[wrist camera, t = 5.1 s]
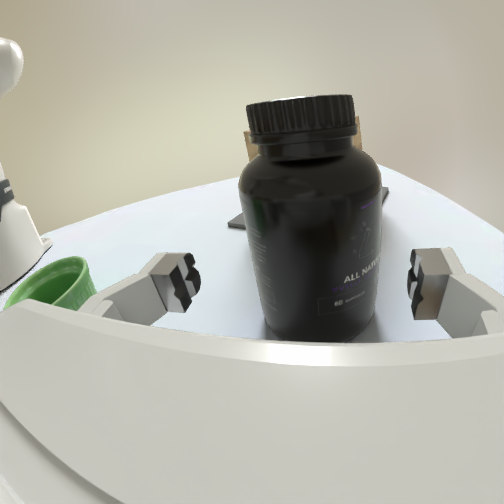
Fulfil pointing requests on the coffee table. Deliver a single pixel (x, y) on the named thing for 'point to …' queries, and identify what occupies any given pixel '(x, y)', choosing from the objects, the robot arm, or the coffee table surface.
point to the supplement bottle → (312, 218)
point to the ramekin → (57, 285)
